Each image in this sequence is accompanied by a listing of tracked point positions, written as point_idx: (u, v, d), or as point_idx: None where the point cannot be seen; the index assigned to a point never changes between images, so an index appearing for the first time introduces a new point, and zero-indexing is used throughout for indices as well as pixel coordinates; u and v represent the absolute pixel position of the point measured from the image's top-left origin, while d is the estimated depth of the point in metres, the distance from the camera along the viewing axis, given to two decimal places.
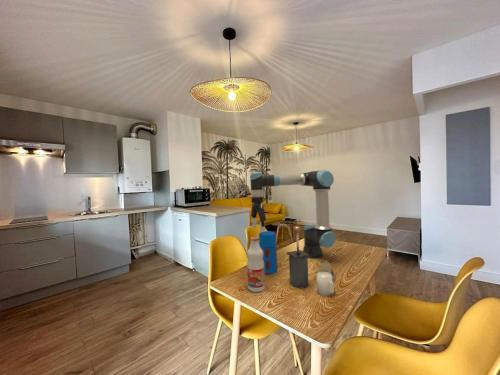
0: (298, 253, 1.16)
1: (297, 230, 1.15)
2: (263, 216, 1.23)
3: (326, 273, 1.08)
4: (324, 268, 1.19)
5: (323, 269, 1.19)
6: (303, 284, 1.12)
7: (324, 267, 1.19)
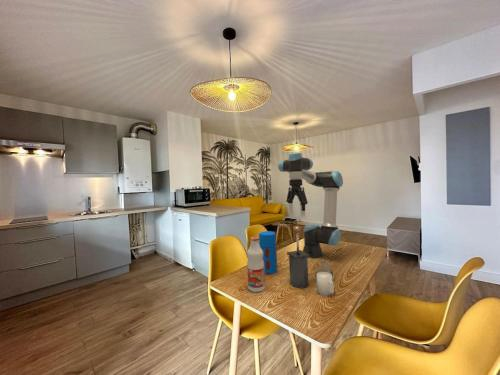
0: (298, 253, 1.16)
1: (297, 230, 1.15)
2: (304, 199, 1.14)
3: (326, 273, 1.08)
4: (324, 268, 1.19)
5: (323, 269, 1.19)
6: (303, 284, 1.12)
7: (323, 267, 1.19)
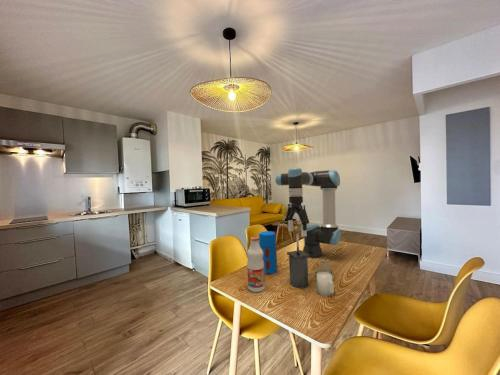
0: (298, 253, 1.16)
1: (297, 230, 1.15)
2: (306, 218, 1.08)
3: (326, 273, 1.08)
4: (323, 268, 1.19)
5: (322, 269, 1.19)
6: (303, 284, 1.12)
7: (323, 267, 1.19)
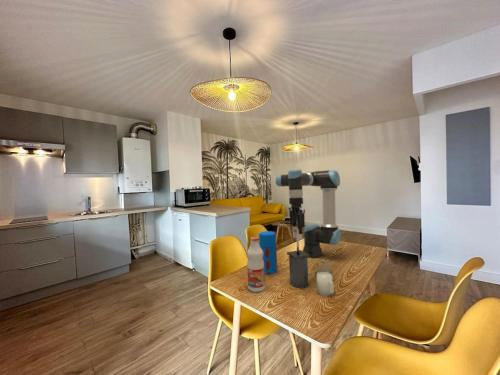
0: (298, 253, 1.16)
1: None
2: (302, 223, 1.11)
3: (326, 273, 1.08)
4: (323, 268, 1.19)
5: (322, 269, 1.19)
6: (303, 284, 1.12)
7: (323, 267, 1.19)
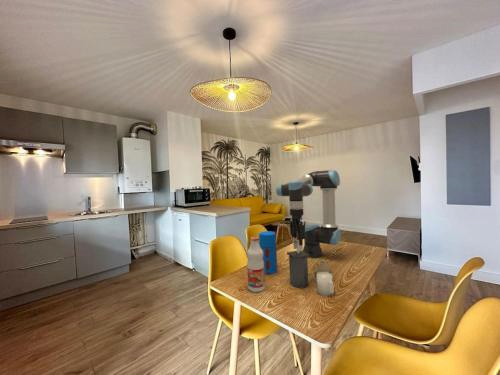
0: None
1: None
2: (303, 235, 1.11)
3: (326, 273, 1.08)
4: (323, 268, 1.19)
5: (322, 269, 1.18)
6: (303, 284, 1.12)
7: (323, 267, 1.19)
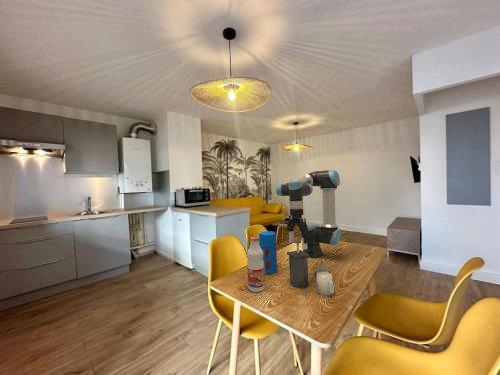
0: None
1: (297, 241, 1.15)
2: (306, 231, 1.08)
3: (326, 273, 1.08)
4: (322, 268, 1.19)
5: (321, 269, 1.18)
6: (303, 284, 1.12)
7: (322, 267, 1.19)
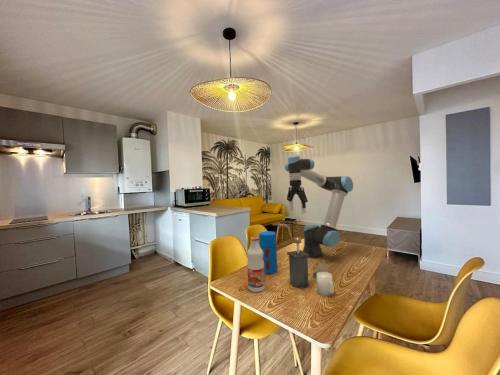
0: None
1: (297, 241, 1.15)
2: (305, 198, 1.27)
3: (326, 273, 1.08)
4: (322, 268, 1.18)
5: (321, 269, 1.18)
6: (303, 284, 1.12)
7: (322, 267, 1.19)
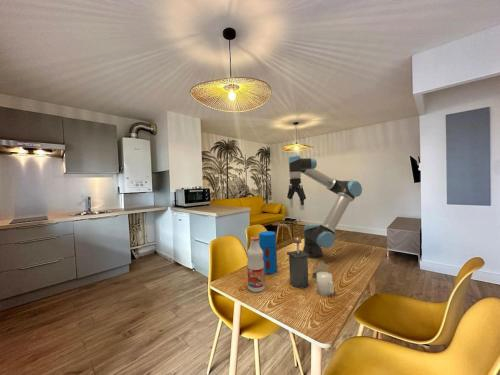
0: None
1: (297, 241, 1.15)
2: (303, 195, 1.34)
3: (326, 273, 1.08)
4: (321, 268, 1.18)
5: (321, 270, 1.18)
6: (303, 284, 1.12)
7: (321, 267, 1.19)
